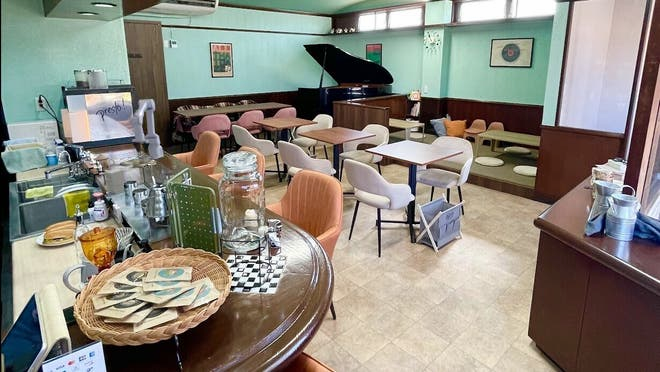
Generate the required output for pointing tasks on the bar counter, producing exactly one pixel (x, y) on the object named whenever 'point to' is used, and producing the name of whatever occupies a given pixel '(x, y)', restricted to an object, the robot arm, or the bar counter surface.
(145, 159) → the block
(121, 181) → the supplement box
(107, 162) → the teacup with lid
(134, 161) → the stand
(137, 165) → the stand
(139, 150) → the robot arm
